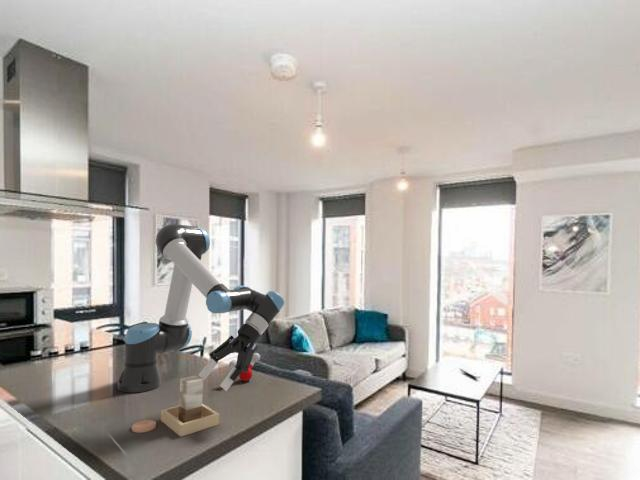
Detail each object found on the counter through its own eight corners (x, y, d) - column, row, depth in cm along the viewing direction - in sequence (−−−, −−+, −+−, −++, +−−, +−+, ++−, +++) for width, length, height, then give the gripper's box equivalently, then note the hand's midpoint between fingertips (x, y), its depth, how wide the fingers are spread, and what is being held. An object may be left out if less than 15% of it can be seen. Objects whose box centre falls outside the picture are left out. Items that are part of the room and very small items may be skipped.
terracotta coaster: (126, 433, 106) (127, 428, 106) (139, 423, 113) (139, 419, 113) (148, 434, 106) (148, 430, 106) (159, 424, 112) (160, 420, 112)
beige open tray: (160, 421, 114) (161, 409, 114) (197, 411, 123) (197, 400, 123) (180, 438, 104) (181, 425, 105) (218, 425, 113) (219, 413, 113)
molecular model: (251, 374, 164) (252, 351, 165) (262, 376, 162) (263, 352, 162) (226, 385, 148) (227, 360, 149) (238, 388, 146) (239, 362, 146)
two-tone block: (178, 421, 114) (180, 378, 114) (193, 417, 117) (195, 375, 118) (185, 427, 110) (187, 382, 111) (201, 422, 114) (203, 379, 114)
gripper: (281, 342, 122) (240, 400, 111) (238, 330, 140) (200, 379, 128) (268, 327, 119) (225, 386, 107) (226, 317, 136) (186, 367, 125)
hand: (211, 382), depth 118 cm, fingers open, 13 cm apart
